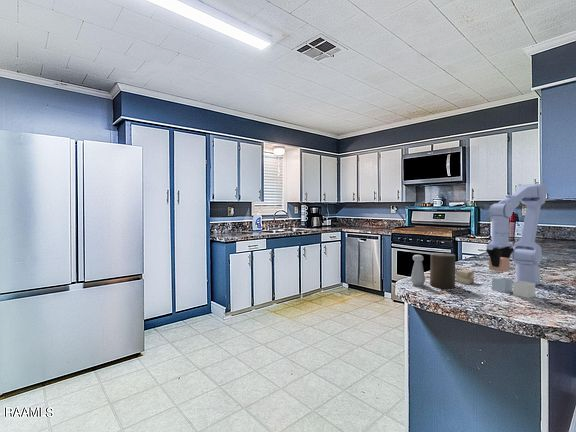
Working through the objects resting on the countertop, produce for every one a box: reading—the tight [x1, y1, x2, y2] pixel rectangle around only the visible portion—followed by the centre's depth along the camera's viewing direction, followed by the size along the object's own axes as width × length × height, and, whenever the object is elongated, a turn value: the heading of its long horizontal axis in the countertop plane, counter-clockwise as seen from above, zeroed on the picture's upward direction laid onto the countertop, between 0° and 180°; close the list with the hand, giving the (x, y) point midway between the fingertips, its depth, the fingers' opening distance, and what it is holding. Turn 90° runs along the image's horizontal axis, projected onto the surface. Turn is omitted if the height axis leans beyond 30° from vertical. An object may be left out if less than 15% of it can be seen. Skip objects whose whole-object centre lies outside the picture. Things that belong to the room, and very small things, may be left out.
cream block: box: [512, 281, 536, 299], centre depth 121 cm, size 5×5×5 cm
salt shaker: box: [410, 254, 426, 287], centre depth 138 cm, size 6×6×13 cm
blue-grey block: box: [491, 276, 514, 294], centre depth 128 cm, size 5×5×5 cm
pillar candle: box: [429, 251, 456, 290], centre depth 136 cm, size 10×10×15 cm
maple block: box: [455, 269, 475, 285], centre depth 143 cm, size 5×5×5 cm
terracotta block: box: [488, 256, 510, 273], centre depth 129 cm, size 5×5×5 cm
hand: (499, 266), depth 129 cm, fingers closed on terracotta block, 5 cm apart
